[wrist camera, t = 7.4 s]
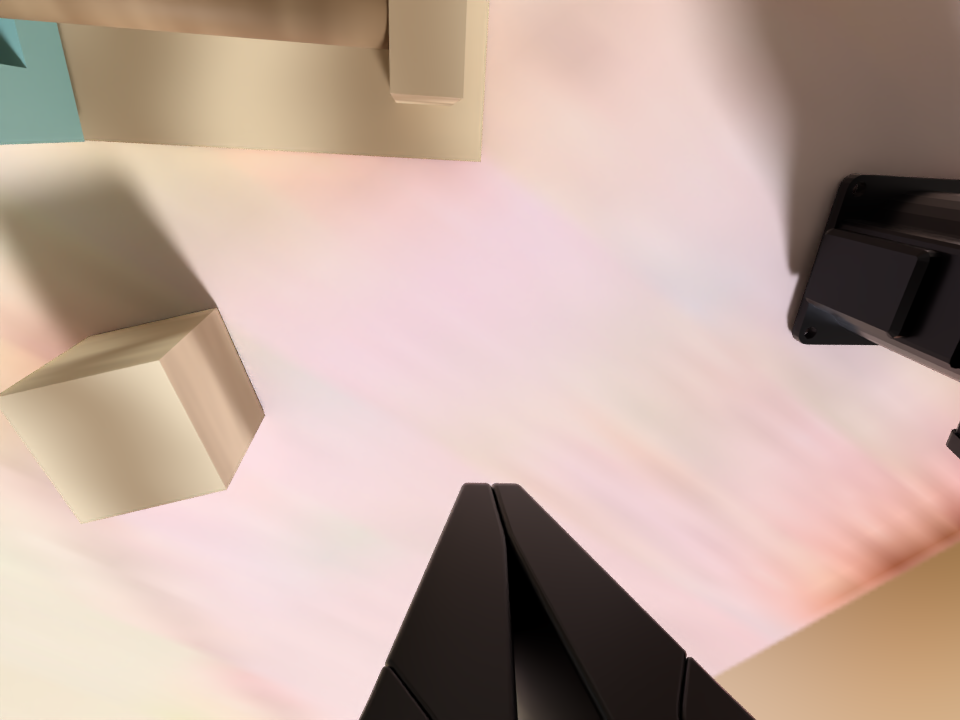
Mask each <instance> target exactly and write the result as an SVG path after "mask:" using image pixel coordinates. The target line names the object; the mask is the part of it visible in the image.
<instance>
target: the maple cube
mask: <svg viewBox="0 0 960 720" xmlns="http://www.w3.org/2000/svg"><path fill="white" fill-rule="evenodd" d="M0 410H1V411H2V413H3V414H4V416H5V417H6V419H7V420H8V421H9V423H10V424H11V426H12V427H13V428H14V430H15V431H16V433H17V434H18V436H19V437H20V438H21V440H22V441H23V443H24V444H25V445H26V447H27V448H28V450H29V451H30V453H31V454H32V455H33V457H34V458H35V460H36V461H37V462H38V464H39V465H40V467H41V468H42V470H43V471H44V472H45V474H46V475H47V477H48V478H49V479H50V481H51V482H52V484H53V485H54V487H55V488H56V489H57V491H58V492H59V494H60V495H61V496H62V498H63V499H64V501H65V502H66V503H67V505H68V506H69V508H70V509H71V511H72V512H73V513H74V515H75V516H76V518H77V519H78V520H79V522H80V523H81V524H84V523H88V522H92V521H96V520H101V519H105V518H109V517H113V516H117V515H122V514H126V513H130V512H134V511H139V510H143V509H147V508H151V507H155V506H160V505H164V504H168V503H172V502H177V501H181V500H185V499H189V498H194V497H198V496H202V495H206V494H210V493H215V492H219V491H223V490H227V488H228V486H229V484H230V482H231V480H232V478H233V476H234V474H235V473H236V471H237V469H238V467H239V465H240V463H241V461H242V459H243V457H244V455H245V453H246V451H247V449H248V447H249V445H250V443H251V442H252V440H253V438H254V436H255V434H256V432H257V430H258V428H259V426H260V424H261V422H262V420H263V418H264V416H265V414H264V412H263V410H262V407H261V405H260V403H259V401H258V399H257V396H256V394H255V392H254V390H253V387H252V385H251V383H250V381H249V378H248V376H247V374H246V372H245V369H244V367H243V365H242V363H241V360H240V358H239V356H238V354H237V352H236V349H235V347H234V345H233V343H232V340H231V338H230V336H229V334H228V331H227V329H226V327H225V325H224V322H223V320H222V318H221V316H220V313H219V311H218V309H217V308H212V309H208V310H204V311H199V312H195V313H190V314H186V315H182V316H177V317H173V318H168V319H164V320H160V321H155V322H151V323H146V324H142V325H138V326H133V327H129V328H124V329H120V330H116V331H111V332H107V333H102V334H98V335H94V336H89V337H87V338H86V339H84V340H83V341H81V342H80V343H78V344H77V345H75V346H73V347H72V348H70V349H69V350H67V351H66V352H64V353H62V354H61V355H59V356H58V357H56V358H55V359H53V360H52V361H50V362H48V363H47V364H45V365H44V366H42V367H41V368H39V369H37V370H36V371H34V372H33V373H31V374H30V375H28V376H27V377H25V378H23V379H22V380H20V381H19V382H17V383H16V384H14V385H12V386H11V387H9V388H8V389H6V390H5V391H3V392H2V393H0Z"/></svg>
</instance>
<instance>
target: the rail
mask: <svg viewBox="0 0 960 720" xmlns="http://www.w3.org/2000/svg"><path fill="white" fill-rule="evenodd" d="M488 14H489V0H0V18H6V19H18V20H30V21H42V22H55V23H57V26H58V31H59V35H60V39H61V43H62V48H63V52H64V56H65V60H66V64H67V69H68V73H69V77H70V81H71V85H72V90H73V94H74V98H75V102H76V107H77V111H78V115H79V119H80V123H81V128H82V132H83V136H84V140H89V141H107V142H126V143H144V144H162V145H181V146H199V147H217V148H236V149H254V150H272V151H291V152H309V153H327V154H346V155H364V156H382V157H401V158H419V159H438V160H456V161H474V162H481V146H482V127H483V108H484V89H485V71H486V52H487V33H488Z"/></svg>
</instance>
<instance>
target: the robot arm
mask: <svg viewBox="0 0 960 720" xmlns="http://www.w3.org/2000/svg"><path fill="white" fill-rule="evenodd" d="M856 184H858V187H857V190H856V192H855V193H854V194H853V188H854V187H855V185H856ZM808 328H810V329H809V331H808V333H806V334H805V332H806V330H807V329H808ZM792 335H793V338H794V339H796V340H797V341H799V342H801V343H803V344H815V345H881V346H883V347H885V348H887V349H889V350H891V351H894V352H896V353H898V354H900V355H902V356H904V357H907V358H909V359H911V360H913V361H915V362H917V363H920V364H922V365H924V366H926V367H928V368H930V369H933V370H935V371H937V372H939V373H941V374H943V375H946V376H948V377H950V378H952V379H954V380H956V381H958V382H960V180H956V179H939V178H921V177H904V176H886V175H869V174H851V175H849V176H847V177H846V178H845V179H844V180H843V181H842V182H841V184H840V186H839V188H838V191H837V194H836V197H835V200H834V203H833V206H832V210H831V213H830V216H829V219H828V222H827V225H826V228H825V231H824V234H823V237H822V240H821V243H820V246H819V249H818V253H817V256H816V259H815V262H814V265H813V268H812V271H811V274H810V277H809V280H808V283H807V286H806V289H805V293H804V296H803V299H802V302H801V305H800V308H799V311H798V314H797V317H796V320H795V323H794V326H793V330H792ZM946 446H947V447H948V448H949V449H950V450H951V451H952V452H953V453H954V454H955V455H956V456H957V457H958V458H959V459H960V422H959V424H958V427H957V429H953V430H952V431H951V434H950V436H949V438H948V441H947V443H946ZM686 656H687V654H686V651H685V650H684V649H683V648H682V647H681V646H680V645H679V644H678V643H677V642H676V641H675V640H674V639H673V638H672V637H671V636H670V635H669V634H668V633H667V632H666V631H665V630H664V629H663V628H662V627H661V626H660V625H659V624H658V623H657V622H656V621H655V620H654V619H653V618H652V617H651V616H650V615H649V614H648V613H647V612H646V611H645V610H644V609H643V608H642V607H641V606H640V605H639V604H638V603H637V602H636V601H635V600H634V599H633V598H632V597H631V596H630V595H629V594H628V593H627V592H626V591H625V590H624V589H623V588H622V587H621V586H620V585H619V584H618V583H617V582H616V581H615V580H614V579H613V578H612V577H611V576H610V575H609V574H608V573H607V572H606V571H605V570H604V569H603V568H602V567H601V566H600V565H599V564H598V563H597V562H596V561H595V560H594V559H593V558H592V557H591V556H590V555H589V554H588V553H587V552H586V551H585V550H584V549H583V548H582V547H581V546H580V545H579V544H578V543H577V542H576V541H575V540H574V539H573V538H572V537H571V536H570V535H569V534H568V533H567V532H566V531H565V530H564V529H563V528H562V527H561V526H560V525H559V524H558V523H557V522H556V521H555V520H554V519H553V518H552V517H551V516H550V515H549V514H548V513H547V512H546V511H545V510H544V509H543V508H542V507H541V506H540V505H539V504H538V503H537V502H536V501H535V500H534V499H533V498H532V497H531V496H530V495H529V494H528V493H527V492H526V491H525V490H524V489H523V488H522V487H521V486H520V485H518V484H513V483H495V484H493V485H492V486H490V485H489V484H488V483H465V484H463V486H462V487H461V490H460V492H459V494H458V497H457V499H456V501H455V504H454V506H453V508H452V510H451V513H450V515H449V517H448V520H447V522H446V524H445V526H444V529H443V531H442V533H441V536H440V538H439V540H438V543H437V545H436V547H435V549H434V552H433V554H432V556H431V559H430V561H429V563H428V565H427V568H426V570H425V572H424V575H423V577H422V579H421V582H420V584H419V586H418V588H417V591H416V593H415V595H414V598H413V600H412V602H411V604H410V607H409V609H408V611H407V614H406V616H405V618H404V621H403V623H402V625H401V627H400V630H399V632H398V634H397V637H396V639H395V641H394V643H393V646H392V648H391V650H390V653H389V655H388V657H387V660H386V662H385V667H383V668H382V670H381V672H380V675H379V677H378V679H377V681H376V684H375V686H374V688H373V691H372V693H371V695H370V697H369V700H368V702H367V704H366V706H365V708H364V710H363V712H362V714H361V716H360V718H359V720H756V719H755V718H754V717H753V716H752V715H751V714H749V713H748V712H747V711H746V710H745V709H744V708H743V707H742V706H741V705H740V704H739V703H738V702H737V701H736V700H735V699H734V698H733V697H732V696H731V695H730V694H729V693H728V692H727V691H725V690H724V689H723V688H722V687H721V686H720V685H719V684H718V683H717V682H716V681H715V680H714V679H713V678H712V677H711V676H710V675H709V674H708V673H707V672H706V671H705V670H704V669H703V668H702V667H701V666H700V665H699V664H698V663H697V662H696V661H695V660H694V659H693V658H692V657H688V658H687V659H686Z"/></svg>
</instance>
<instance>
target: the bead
mask: <svg viewBox="0 0 960 720" xmlns="http://www.w3.org/2000/svg"><path fill="white" fill-rule="evenodd" d="M59 142H85V140H84V136H83V132H82V128H81V123H80V119H79V115H78V111H77V107H76V102H75V98H74V94H73V90H72V85H71V81H70V77H69V73H68V69H67V64H66V60H65V56H64V52H63V48H62V43H61V39H60V35H59V31H58V26H57V23H55V22H42V21H30V20H18V19H6V18H0V145H4V144H31V143H59Z"/></svg>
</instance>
